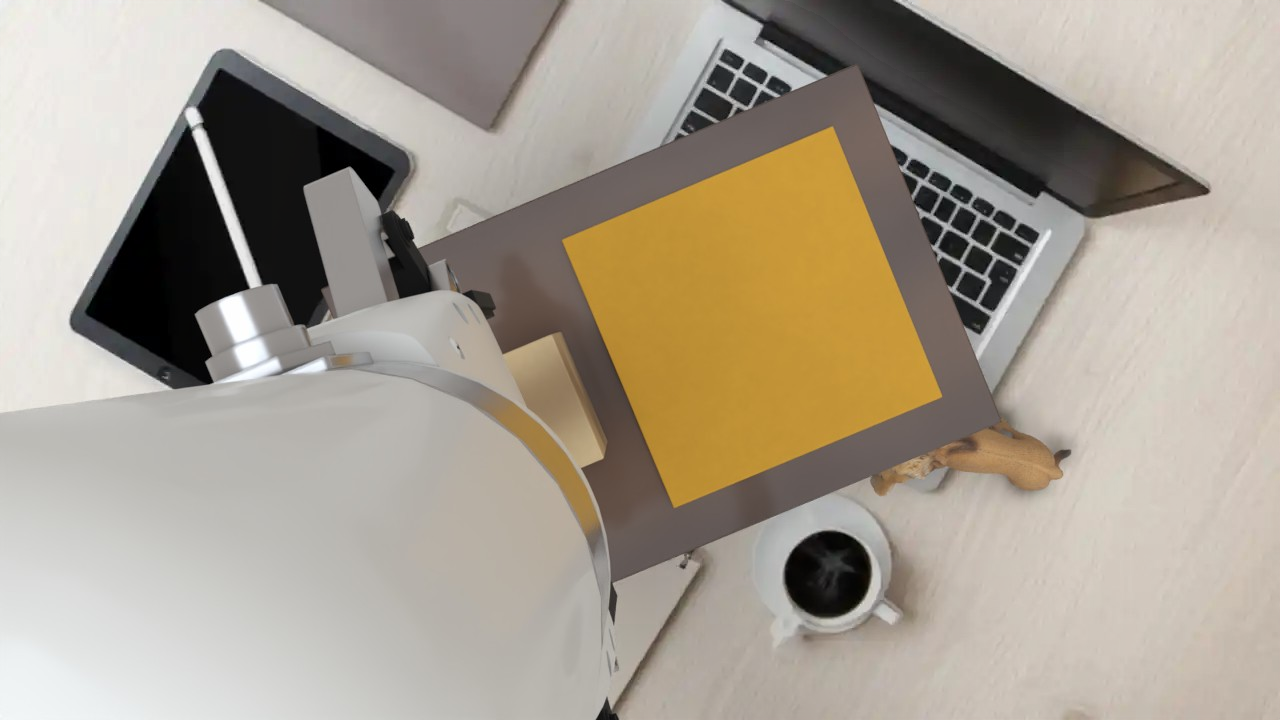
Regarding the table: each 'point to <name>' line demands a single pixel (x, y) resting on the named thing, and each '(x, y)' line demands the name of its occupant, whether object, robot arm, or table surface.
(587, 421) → the beech block
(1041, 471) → the lion figurine
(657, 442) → the felt cloth
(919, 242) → the walnut stand
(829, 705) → the table surface
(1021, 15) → the table surface
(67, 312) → the table surface
